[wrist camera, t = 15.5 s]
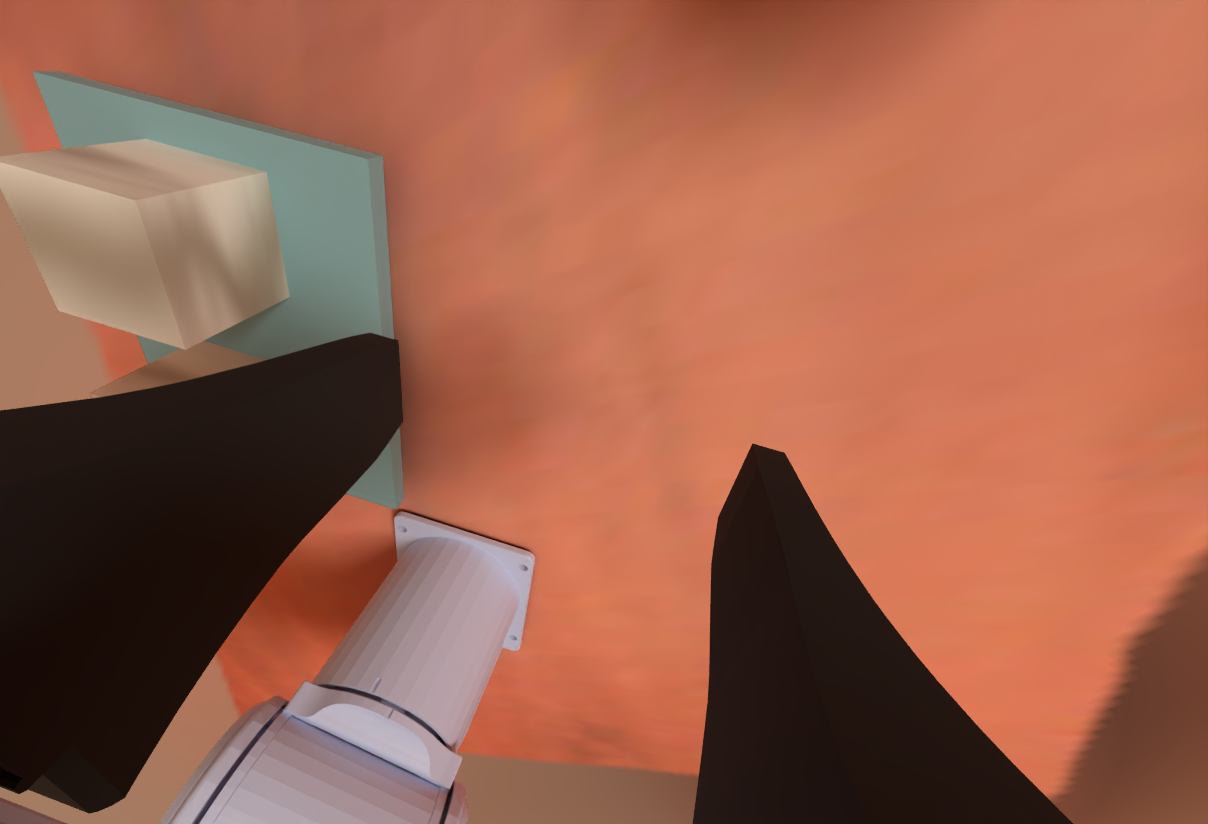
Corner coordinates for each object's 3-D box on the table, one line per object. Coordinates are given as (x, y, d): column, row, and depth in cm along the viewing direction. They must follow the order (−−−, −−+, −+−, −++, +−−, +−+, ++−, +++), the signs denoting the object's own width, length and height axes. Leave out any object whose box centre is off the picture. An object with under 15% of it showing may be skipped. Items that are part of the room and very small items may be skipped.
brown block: (309, 448, 24) (232, 516, 21) (223, 421, 25) (132, 482, 21) (294, 368, 22) (202, 430, 18) (198, 339, 22) (89, 393, 18)
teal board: (414, 485, 27) (395, 509, 25) (208, 420, 28) (178, 440, 26) (399, 151, 17) (367, 158, 16) (89, 70, 18) (32, 71, 17)
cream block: (289, 297, 20) (185, 349, 16) (184, 266, 20) (58, 310, 16) (266, 171, 17) (135, 200, 13) (145, 138, 17) (-15, 158, 14)
